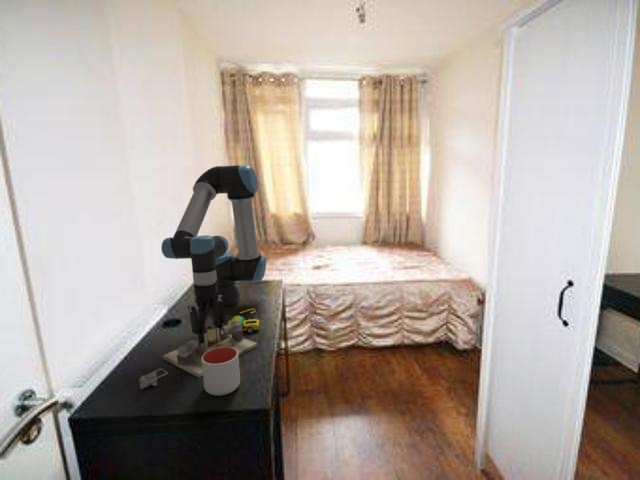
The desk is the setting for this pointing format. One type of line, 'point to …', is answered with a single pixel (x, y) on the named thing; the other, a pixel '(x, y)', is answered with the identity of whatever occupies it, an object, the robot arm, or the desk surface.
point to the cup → (221, 370)
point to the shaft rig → (192, 351)
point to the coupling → (211, 334)
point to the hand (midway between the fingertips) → (211, 347)
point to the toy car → (246, 322)
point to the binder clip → (150, 379)
